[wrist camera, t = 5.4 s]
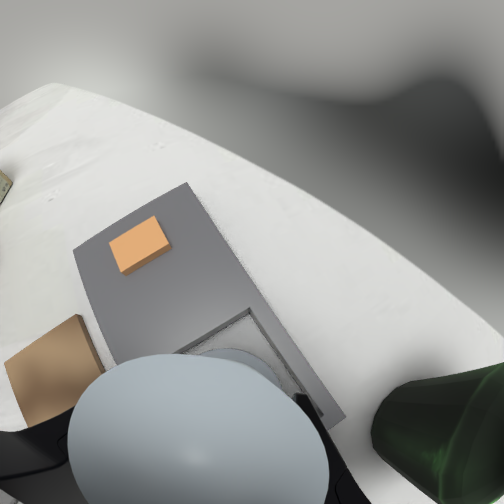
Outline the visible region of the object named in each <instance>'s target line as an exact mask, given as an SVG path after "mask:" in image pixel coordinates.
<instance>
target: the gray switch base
mask: <svg viewBox="0 0 504 504" xmlns="http://www.w3.org/2000/svg"><path fill="white" fill-rule="evenodd" d="M73 253H74V257H75V260H76V263H77V267H78V270H79V273H80V276H81V279H82V282H83V285H84V288H85V291H86V294H87V296H88V299H89V302H90V305H91V307H92V310H93V312H94V315H95V317H96V320H97V322H98V325H99V327H100V329H101V332H102V334H103V336H104V339H105V341H106V343H107V345H108V348H109V350H110V352H111V354H112V356H113V358H114V360H115V362H116V364H117V365H120V364H122V363H124V362H126V361H130V360H133V359H137V358H140V357H145V356H151V355H157V354H181V353H183V352H185V351H186V350H188V349H190V348H192V347H193V346H195V345H197V344H199V343H200V342H202V341H204V340H205V339H207V338H209V337H210V336H212V335H214V334H215V333H217V332H219V331H220V330H222V329H224V328H225V327H227V326H229V325H230V324H232V323H234V322H235V321H237V320H239V319H240V318H242V317H243V316H245V315H247V314H248V313H250V315H251V316H252V318H253V319H254V321H255V322H256V324H257V325H258V327H259V328H260V330H261V331H262V333H263V334H264V336H265V337H266V339H267V340H268V342H269V343H270V345H271V346H272V348H273V349H274V351H275V352H276V353H277V355H278V356H279V358H280V359H281V361H282V362H283V364H284V365H285V367H286V368H287V369H288V371H289V372H290V374H291V375H292V377H293V378H294V379H295V381H296V382H297V384H298V385H299V386H300V388H301V389H302V391H303V392H304V393H305V394H307V395H308V397H309V399H310V400H311V402H312V404H313V406H314V407H315V409H316V412H317V413H318V415H319V417H320V419H321V421H322V423H323V424H324V426H325V428H326V430H327V431H328V430H329V429H331V428H332V427H334V426H335V425H336V424H338V423H339V422H340V421H342V420H343V419H344V418H346V416H345V414H344V413H343V411H342V410H341V409H340V407H339V406H338V404H337V403H336V402H335V400H334V399H333V397H332V396H331V394H330V393H329V392H328V390H327V389H326V387H325V386H324V385H323V383H322V382H321V380H320V379H319V377H318V376H317V375H316V373H315V372H314V370H313V369H312V367H311V366H310V365H309V363H308V362H307V360H306V359H305V357H304V356H303V354H302V353H301V352H300V350H299V349H298V347H297V346H296V344H295V343H294V342H293V340H292V339H291V337H290V336H289V334H288V333H287V331H286V330H285V328H284V327H283V326H282V324H281V323H280V321H279V320H278V318H277V317H276V315H275V314H274V312H273V311H272V309H271V308H270V307H269V305H268V304H267V302H266V301H265V299H264V298H263V296H262V295H261V293H260V292H259V290H258V289H257V287H256V286H255V284H254V283H253V281H252V280H251V278H250V277H249V275H248V274H247V272H246V271H245V270H244V268H243V267H242V265H241V264H240V262H239V261H238V259H237V258H236V256H235V255H234V253H233V252H232V250H231V249H230V247H229V246H228V244H227V243H226V241H225V240H224V238H223V236H222V235H221V233H220V232H219V230H218V229H217V227H216V226H215V224H214V223H213V221H212V220H211V218H210V217H209V215H208V214H207V212H206V211H205V209H204V208H203V206H202V205H201V203H200V202H199V200H198V198H197V197H196V195H195V194H194V192H193V191H192V189H191V188H190V186H189V185H188V183H187V182H186V183H184V184H182V185H180V186H178V187H176V188H174V189H173V190H171V191H169V192H167V193H165V194H163V195H162V196H160V197H158V198H156V199H154V200H153V201H151V202H149V203H147V204H146V205H144V206H142V207H140V208H139V209H137V210H135V211H134V212H132V213H130V214H129V215H127V216H125V217H124V218H122V219H120V220H119V221H117V222H115V223H114V224H112V225H111V226H109V227H107V228H106V229H104V230H103V231H101V232H100V233H98V234H96V235H95V236H93V237H92V238H90V239H89V240H87V241H86V242H84V243H83V244H81V245H80V246H78V247H77V248H75V249H74V250H73Z"/></svg>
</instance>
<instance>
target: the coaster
mask: <svg viewBox="0 0 504 504" xmlns="http://www.w3.org/2000/svg"><path fill="white" fill-rule="evenodd" d="M4 365H5V368H6V371H7V374H8V377H9V380H10V383H11V386H12V389H13V392H14V395H15V397H16V400H17V402H18V405H19V407H20V410H21V412H22V415H23V417H24V419H25V421H26V424H27V426H28V428H29V427H31V426H34V425H36V424H39V423H41V422H44V421H46V420H48V419H50V418H53V417H55V416H57V415H59V414H61V413H63V412H64V411H66V410H68V409H70V408H71V407H73V406H75V405H76V404H77V402H78V400H79V399H80V397H81V395H82V394H83V393H84V391H85V390H86V389H87V388H88V386H89V385H90V384H91V383H93V382H94V381H95V380H96V379H97V378H98V377H99V376H100V375H102V374H104V373H105V370H104V368H103V366H102V363H101V361H100V359H99V357H98V355H97V352H96V350H95V348H94V346H93V343H92V341H91V339H90V336H89V334H88V331H87V329H86V326H85V324H84V321H83V318H82V316H81V315H78V314H75V315H74V316H72V317H70V318H69V319H67V320H66V321H64V322H63V323H61V324H60V325H58V326H57V327H55V328H54V329H52V330H51V331H49V332H48V333H46V334H45V335H43V336H42V337H40V338H39V339H37V340H36V341H34V342H33V343H32V344H30V345H29V346H27V347H26V348H24V349H23V350H21V351H20V352H19V353H17V354H16V355H14V356H13V357H12V358H10V359H9V360H7V361H6V362H5V363H4Z"/></svg>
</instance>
